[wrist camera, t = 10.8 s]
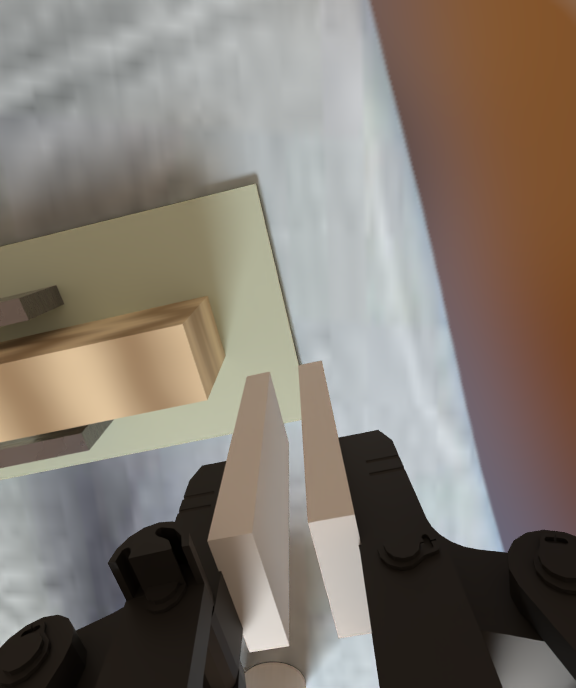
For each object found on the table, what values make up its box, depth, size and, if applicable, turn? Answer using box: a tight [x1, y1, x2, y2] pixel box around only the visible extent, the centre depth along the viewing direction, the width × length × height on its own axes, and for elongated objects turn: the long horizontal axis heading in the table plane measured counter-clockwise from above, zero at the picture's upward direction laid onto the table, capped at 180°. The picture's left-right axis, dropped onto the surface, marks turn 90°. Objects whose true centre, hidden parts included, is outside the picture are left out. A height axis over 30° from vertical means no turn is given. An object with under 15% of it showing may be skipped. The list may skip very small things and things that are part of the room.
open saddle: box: [0, 285, 114, 468], centre depth 24 cm, size 6×9×4 cm, turn 13°
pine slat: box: [0, 296, 225, 442], centre depth 22 cm, size 18×4×6 cm, turn 103°
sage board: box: [0, 184, 302, 480], centre depth 26 cm, size 32×15×1 cm, turn 103°
